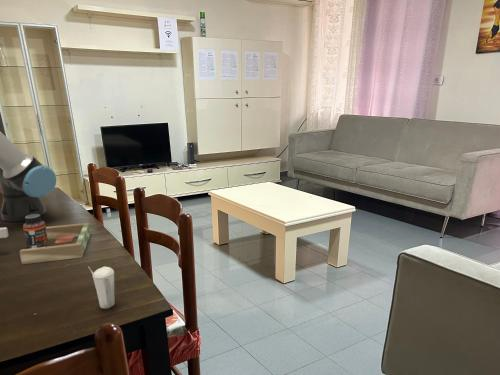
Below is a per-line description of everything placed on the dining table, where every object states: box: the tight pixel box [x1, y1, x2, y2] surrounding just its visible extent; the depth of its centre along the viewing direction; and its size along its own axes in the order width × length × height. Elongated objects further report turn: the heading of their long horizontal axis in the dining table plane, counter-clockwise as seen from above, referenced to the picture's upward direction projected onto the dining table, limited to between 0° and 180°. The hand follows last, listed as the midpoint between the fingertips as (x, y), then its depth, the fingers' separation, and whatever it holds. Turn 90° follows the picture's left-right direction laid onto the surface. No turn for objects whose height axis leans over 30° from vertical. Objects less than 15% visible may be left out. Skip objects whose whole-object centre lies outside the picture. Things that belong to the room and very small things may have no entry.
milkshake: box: [87, 266, 116, 310], centre depth 83 cm, size 5×5×10 cm
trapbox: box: [19, 222, 91, 265], centre depth 115 cm, size 19×16×4 cm
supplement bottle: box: [22, 214, 49, 249], centre depth 112 cm, size 6×6×11 cm
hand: (6, 232), depth 110 cm, fingers closed
